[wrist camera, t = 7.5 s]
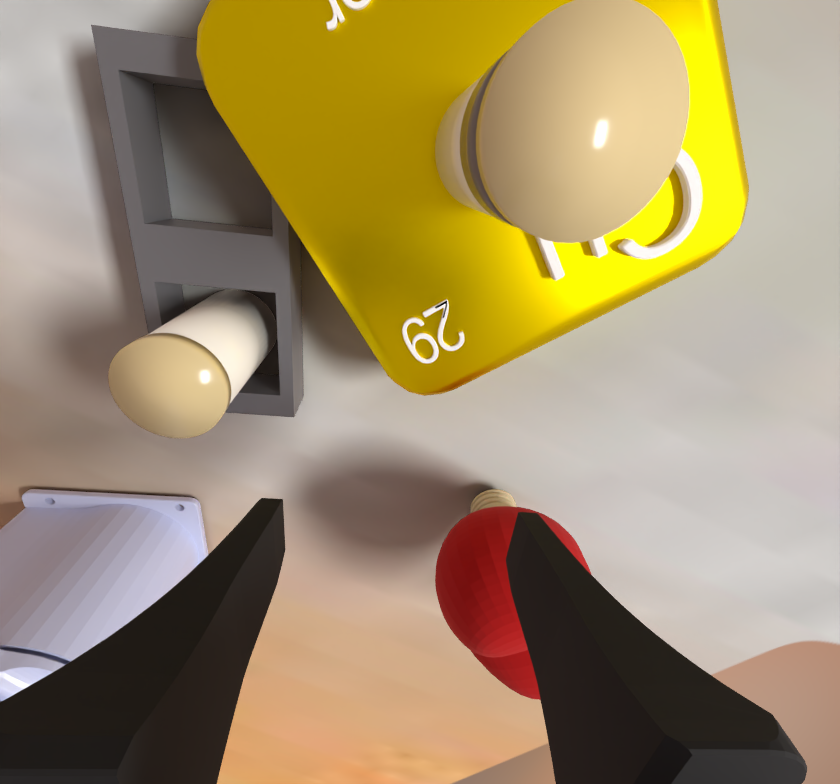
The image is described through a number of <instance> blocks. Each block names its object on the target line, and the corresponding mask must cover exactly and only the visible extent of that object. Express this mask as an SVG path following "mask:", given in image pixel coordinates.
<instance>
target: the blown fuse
mask: <svg viewBox="0 0 840 784" xmlns="http://www.w3.org/2000/svg"><path fill="white" fill-rule="evenodd" d="M689 107H690V86H689V78H688V71H687V67H686V63H685V60H684V56H683V54H682V51H681V49H680V46H679V44H678V42H677V40H676V38H675V37H674V35H673V33H672V32H671V30H670V29H669V27H668V26H667V25H666V24H665V23H664V22H663V20H662V19H661V18H660V17H659V16H658V15H656V14H655V13H654V12H653V11H652V10H650V9H649V8H647V7H646V6H644V5H642V4H640V3H638V2H637V1H634V0H574V1H572V2H569V3H567V4H564V5H562V6H560V7H559V8H557V9H555V10H553V11H552V12H550V13H548V14H547V15H546V16H544V17H543V18H542V19H541V20H539V21H538V22H537V23H535V24H534V25H533V26H532V27H531V28H530V29H529V30H528V31H527V32H526V33H524V34H523V35H522V36H521V37H520V38H519V39H518V40H517V41H516V42H515V43H514V44H513V45H512V47H511V48H510V49H509V50H508V51H506V52H505V53H504V54H503V55H502V56H501V57H500V58H499V59H498V60H497V61H496V62H495V63H494V64H493V65H492V66H491V67H490V68H489V69H488V70H487V71H486V72H485V73H484V74H483V75H482V76H481V77H480V78H479V79H477V80H476V81H475V82H474V83H473V84H472V85H471V86H469V87H468V88H467V89H466V90H465V91H464V92H463V93H462V94H460V95H459V96H458V97H457V98H456V99H455V100H454V101H453V102H452V104H451V105H450V106H449V108H448V109H447V111H446V112H445V114H444V116H443V118H442V120H441V123H440V125H439V128H438V132H437V136H436V143H435V159H436V166H437V170H438V173H439V176H440V178H441V181H442V183H443V184H444V186H445V188H446V189H447V191H448V192H449V193H450V194H451V195H452V196H453V197H454V198H455V199H456V200H457V201H458V202H460V203H461V204H463V205H465V206H467V207H469V208H472V209H474V210H477V211H479V212H482V213H485V214H487V215H490V216H492V217H495V218H496V219H498V220H500V221H502V222H504V223H507V224H509V225H512V226H514V227H517V228H519V229H521V230H522V231H524V232H526V233H529V234H531V235H534V236H536V237H539V238H541V239H544V240H548V241H552V242H557V243H579V242H585V241H589V240H594V239H596V238H599V237H602V236H605V235H607V234H609V233H611V232H613V231H615V230H617V229H618V228H620V227H622V226H623V225H625V224H626V223H628V222H629V221H630V220H631V219H633V218H634V217H635V216H636V215H638V214H639V213H640V212H641V211H642V210H643V209H644V208H645V207H646V206H647V205H648V204H649V203H650V201H651V200H652V199H653V198H654V197H655V195H656V194H657V193H658V192H659V190H660V189H661V187H662V186H663V184H664V183H665V181H666V180H667V178H668V176H669V174H670V172H671V170H672V169H673V167H674V165H675V162H676V160H677V158H678V155H679V153H680V150H681V147H682V144H683V141H684V137H685V134H686V128H687V123H688V118H689Z"/></svg>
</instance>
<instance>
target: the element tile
mask: <svg viewBox="0 0 840 784" xmlns="http://www.w3.org/2000/svg"><path fill="white" fill-rule="evenodd" d="M572 1H574V0H211V1H210V2H209V3H208V6H207V8H206V10H205V12H204V15H203V17H202V19H201V21H200V24H199V26H198V33H197V53H196V55H197V59H198V63H199V67H200V70H201V74H202V78H203V82H204V85H205V87H206V89H207V91H208V93H209V95H210V98H211V100H212V102H213V104H214V106H215V108H216V109H217V111H218V112H219V114H220V115H221V117H222V118H223V120H224V122H225V123H226V125H227V126H228V128H229V129H230V131H231V132H232V134H233V136H234V137H235V139H236V140H237V142H238V143H239V145H240V146H241V148H242V150H243V151H244V153H245V154H246V156H247V157H248V159H249V160H250V162H251V164H252V165H253V167H254V168H255V170H256V171H257V173H258V174H259V176H260V177H261V179H262V181H263V182H264V184H265V185H266V187H267V188H268V190H269V191H270V193H271V195H272V196H273V198H274V199H275V201H276V202H277V204H278V205H279V207H280V209H281V210H282V212H283V213H284V215H285V216H286V218H287V219H288V221H289V223H290V224H291V226H292V227H293V229H294V230H295V232H296V233H297V235H298V237H299V238H300V240H301V241H302V243H303V244H304V246H305V247H306V249H307V251H308V252H309V254H310V255H311V257H312V258H313V260H314V261H315V263H316V264H317V266H318V268H319V269H320V271H321V272H322V274H323V275H324V277H325V278H326V280H327V282H328V283H329V285H330V286H331V288H332V289H333V291H334V292H335V294H336V296H337V297H338V299H339V300H340V302H341V303H342V305H343V306H344V308H345V310H346V311H347V313H348V314H349V316H350V317H351V319H352V320H353V322H354V324H355V325H356V327H357V328H358V330H359V331H360V333H361V334H362V336H363V338H364V339H365V341H366V342H367V344H368V345H369V347H370V348H371V350H372V351H373V353H374V355H375V356H376V358H377V359H378V361H379V362H380V364H381V365H382V367H383V369H384V370H385V372H386V373H387V375H388V376H389V377H390V378H391V379H392V380H393V381H394V382H395V383H397V384H398V385H400V386H401V387H403V388H404V389H406V390H407V391H409V392H412V393H416V394H420V395H434V394H442V393H445V392H448V391H451V390H454V389H456V388H458V387H460V386H462V385H464V384H466V383H468V382H470V381H472V380H474V379H476V378H478V377H480V376H482V375H484V374H486V373H488V372H490V371H492V370H494V369H496V368H498V367H500V366H502V365H504V364H506V363H508V362H510V361H512V360H514V359H516V358H518V357H520V356H522V355H524V354H526V353H528V352H530V351H532V350H534V349H536V348H538V347H540V346H542V345H544V344H546V343H548V342H550V341H552V340H554V339H556V338H558V337H560V336H562V335H564V334H566V333H568V332H570V331H572V330H574V329H576V328H578V327H580V326H582V325H584V324H586V323H588V322H590V321H592V320H594V319H596V318H598V317H600V316H602V315H604V314H606V313H608V312H610V311H612V310H614V309H616V308H618V307H620V306H622V305H624V304H626V303H628V302H630V301H632V300H634V299H636V298H638V297H640V296H642V295H644V294H646V293H648V292H650V291H652V290H654V289H656V288H658V287H660V286H662V285H664V284H666V283H668V282H670V281H672V280H674V279H676V278H678V277H680V276H682V275H684V274H686V273H688V272H690V271H692V270H694V269H696V268H698V267H700V266H701V265H703V264H704V263H706V262H707V261H709V260H710V259H712V258H713V257H715V256H716V255H717V254H718V253H719V252H720V251H721V250H722V249H723V248H724V247H725V246H727V245H728V244H729V243H730V242H731V241H732V239H733V238H734V236H735V234H736V233H737V231H738V229H739V227H740V226H741V224H742V222H743V219H744V215H745V211H746V206H747V202H748V192H749V185H748V179H747V173H746V167H745V161H744V155H743V149H742V144H741V138H740V132H739V126H738V120H737V114H736V108H735V102H734V97H733V91H732V85H731V79H730V73H729V67H728V61H727V55H726V50H725V44H724V38H723V32H722V26H721V20H720V14H719V8H718V3H717V0H634V1H637V2H638V3H640V4H642V5H644V6H646V7H647V8H649V9H650V10H652V11H653V12H654V13H655V14H656V15H658V16H659V17H660V18H661V19H662V20H663V22H664V23H665V24H666V25H667V26H668V27H669V29H670V30H671V32H672V33H673V35H674V37H675V38H676V40H677V42H678V44H679V46H680V49H681V51H682V54H683V56H684V60H685V63H686V67H687V71H688V78H689V86H690V107H689V118H688V123H687V128H686V134H685V137H684V141H683V144H682V147H681V150H680V153H679V155H678V158H677V160H676V162H675V165H674V167H673V169H672V170H671V172H670V174H669V176H668V178H667V180H666V181H665V183H664V184H663V186H662V187H661V189H660V190H659V192H658V193H657V194H656V195H655V197H654V198H653V199H652V200H651V201H650V203H649V204H648V205H647V206H646V207H645V208H644V209H643V210H642V211H641V212H640V213H639V214H638V215H636V216H635V217H634V218H633V219H631V220H630V221H629V222H628V223H626V224H625V225H623V226H622V227H620V228H618V229H617V230H615V231H613V232H611V233H609V234H607V235H605V236H602V237H599V238H596V239H594V240H589V241H585V242H579V243H557V242H552V241H548V240H544V239H541V238H539V237H536V236H534V235H531V234H529V233H526V232H524V231H522V230H521V229H519V228H517V227H514V226H512V225H509V224H507V223H504V222H502V221H500V220H498V219H496V218H495V217H492V216H490V215H487V214H485V213H482V212H479V211H477V210H474V209H472V208H469V207H467V206H465V205H463V204H461V203H460V202H458V201H457V200H456V199H455V198H454V197H453V196H452V195H451V194H450V193H449V192H448V191H447V189H446V188H445V186H444V184H443V183H442V181H441V178H440V176H439V173H438V170H437V166H436V159H435V143H436V136H437V132H438V128H439V125H440V123H441V120H442V118H443V116H444V114H445V112H446V111H447V109H448V108H449V106H450V105H451V104H452V102H453V101H454V100H455V99H456V98H457V97H458V96H459V95H460V94H462V93H463V92H464V91H465V90H466V89H467V88H468V87H469V86H471V85H472V84H473V83H474V82H475V81H476V80H477V79H479V78H480V77H481V76H482V75H483V74H484V73H485V72H486V71H487V70H488V69H489V68H490V67H491V66H492V65H493V64H494V63H495V62H496V61H497V60H498V59H499V58H500V57H501V56H502V55H503V54H504V53H505V52H506V51H508V50H509V49H510V48H511V47H512V45H513V44H514V43H515V42H516V41H517V40H518V39H519V38H520V37H521V36H522V35H523V34H524V33H526V32H527V31H528V30H529V29H530V28H531V27H532V26H533V25H534V24H535V23H537V22H538V21H539V20H541V19H542V18H543V17H544V16H546V15H547V14H548V13H550V12H552V11H553V10H555V9H557V8H559V7H560V6H562V5H564V4H567V3H569V2H572Z"/></svg>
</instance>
